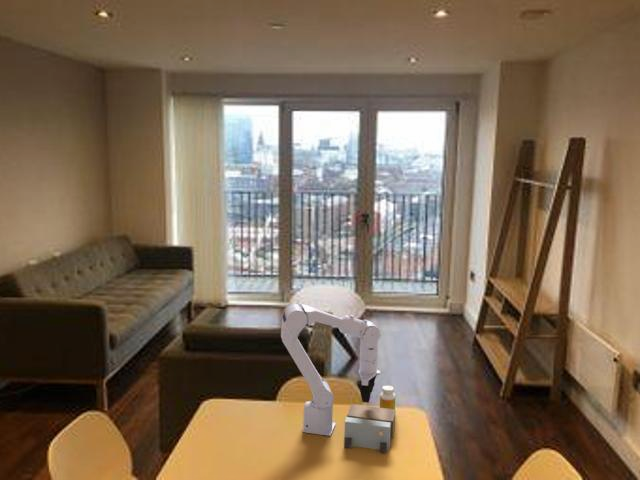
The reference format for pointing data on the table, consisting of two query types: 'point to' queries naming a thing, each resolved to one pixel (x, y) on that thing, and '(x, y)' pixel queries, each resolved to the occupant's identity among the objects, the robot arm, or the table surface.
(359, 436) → the door panel
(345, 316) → the robot arm
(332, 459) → the table surface
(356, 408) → the cabinet
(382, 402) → the supplement bottle
